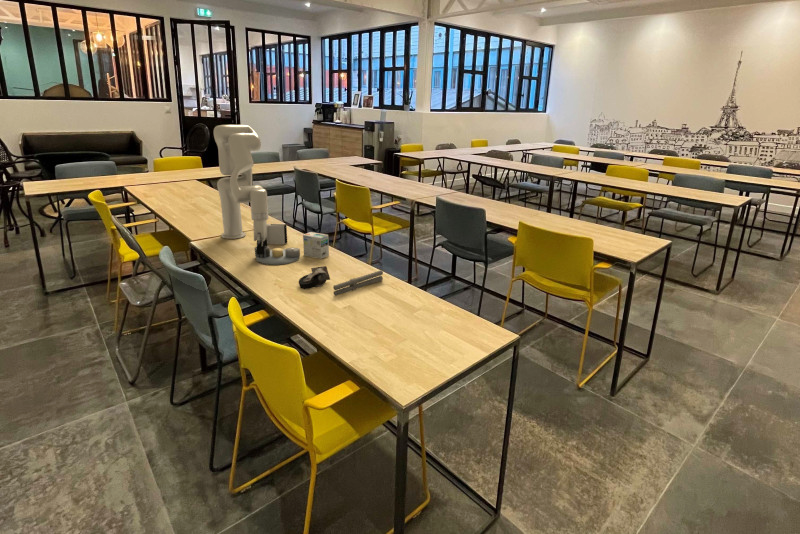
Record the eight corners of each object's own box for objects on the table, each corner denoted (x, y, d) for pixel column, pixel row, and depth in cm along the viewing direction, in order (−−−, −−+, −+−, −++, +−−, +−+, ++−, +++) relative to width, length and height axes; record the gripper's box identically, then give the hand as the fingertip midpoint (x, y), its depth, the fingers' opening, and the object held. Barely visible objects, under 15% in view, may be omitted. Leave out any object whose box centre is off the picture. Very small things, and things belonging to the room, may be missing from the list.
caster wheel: (299, 294, 187) (305, 282, 196) (325, 291, 186) (330, 278, 194) (294, 281, 184) (300, 268, 193) (321, 277, 182) (326, 265, 191)
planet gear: (256, 253, 222) (256, 245, 220) (271, 253, 223) (270, 245, 221) (254, 258, 215) (253, 250, 214) (268, 258, 216) (268, 250, 215)
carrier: (259, 251, 228) (259, 242, 227) (301, 251, 231) (301, 242, 229) (252, 265, 210) (251, 255, 208) (298, 264, 212) (297, 255, 211)
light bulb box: (329, 255, 226) (329, 234, 222) (321, 259, 220) (321, 237, 217) (311, 251, 230) (310, 231, 226) (303, 255, 224) (302, 234, 221)
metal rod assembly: (378, 279, 200) (379, 268, 198) (383, 281, 198) (383, 270, 196) (331, 295, 182) (331, 284, 180) (336, 297, 180) (336, 286, 178)
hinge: (260, 245, 236) (258, 226, 233) (259, 242, 241) (258, 224, 238) (287, 244, 240) (286, 225, 237) (287, 241, 245) (286, 223, 242)
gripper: (254, 211, 220) (257, 245, 226) (248, 220, 204) (250, 256, 210) (270, 211, 221) (273, 245, 227) (265, 220, 205) (267, 256, 211)
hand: (262, 250), depth 218 cm, fingers open, 9 cm apart
